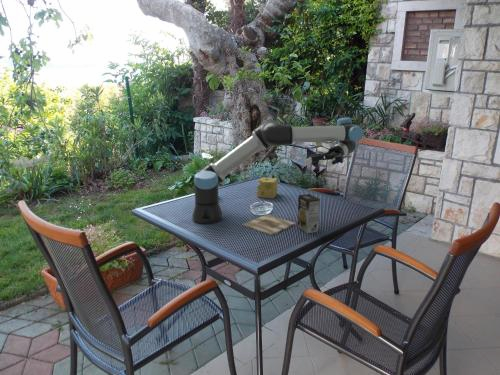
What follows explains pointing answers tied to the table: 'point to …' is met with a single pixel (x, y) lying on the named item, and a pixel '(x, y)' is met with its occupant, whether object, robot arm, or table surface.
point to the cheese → (267, 187)
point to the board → (269, 224)
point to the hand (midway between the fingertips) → (315, 164)
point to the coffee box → (308, 213)
